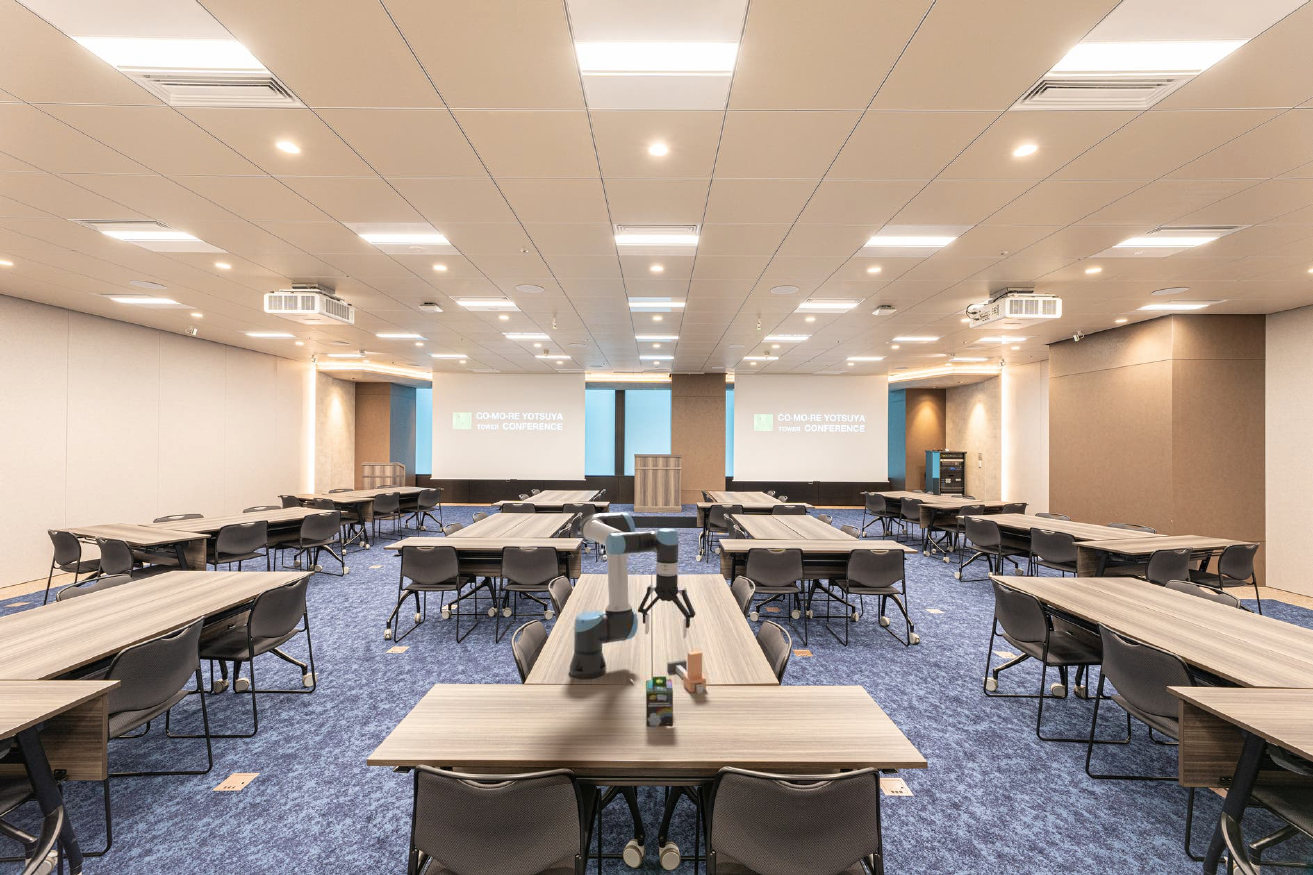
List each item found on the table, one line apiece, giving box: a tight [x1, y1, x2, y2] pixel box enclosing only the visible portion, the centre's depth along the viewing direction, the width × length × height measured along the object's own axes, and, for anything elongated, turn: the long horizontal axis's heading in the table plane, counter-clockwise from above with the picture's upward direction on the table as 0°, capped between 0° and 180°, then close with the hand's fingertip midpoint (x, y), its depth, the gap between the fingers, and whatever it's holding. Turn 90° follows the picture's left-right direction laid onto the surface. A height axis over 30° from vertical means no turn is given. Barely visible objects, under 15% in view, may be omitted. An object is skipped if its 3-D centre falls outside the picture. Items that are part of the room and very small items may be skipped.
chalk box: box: [645, 675, 674, 727], centre depth 167 cm, size 9×9×15 cm
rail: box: [666, 659, 704, 695], centre depth 194 cm, size 25×12×4 cm, turn 22°
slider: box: [682, 650, 707, 693], centre depth 189 cm, size 6×7×13 cm
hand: (665, 634), depth 172 cm, fingers open, 13 cm apart
